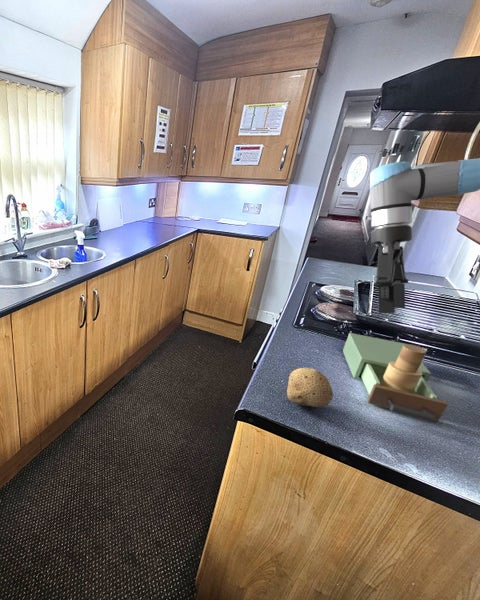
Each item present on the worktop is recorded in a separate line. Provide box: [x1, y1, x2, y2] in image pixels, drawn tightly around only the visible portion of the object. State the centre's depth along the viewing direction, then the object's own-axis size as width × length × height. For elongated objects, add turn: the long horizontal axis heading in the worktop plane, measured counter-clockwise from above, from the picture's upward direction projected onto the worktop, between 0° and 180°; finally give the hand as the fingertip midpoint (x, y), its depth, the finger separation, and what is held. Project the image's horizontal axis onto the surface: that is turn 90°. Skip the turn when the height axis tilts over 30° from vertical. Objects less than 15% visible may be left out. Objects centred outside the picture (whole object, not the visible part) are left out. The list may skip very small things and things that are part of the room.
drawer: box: [360, 362, 449, 423], centre depth 80 cm, size 20×13×5 cm, turn 152°
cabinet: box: [342, 332, 432, 383], centre depth 92 cm, size 17×14×7 cm
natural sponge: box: [286, 367, 334, 408], centre depth 78 cm, size 9×9×10 cm
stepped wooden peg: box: [380, 343, 427, 393], centre depth 80 cm, size 6×6×12 cm
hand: (392, 310), depth 84 cm, fingers open, 13 cm apart
